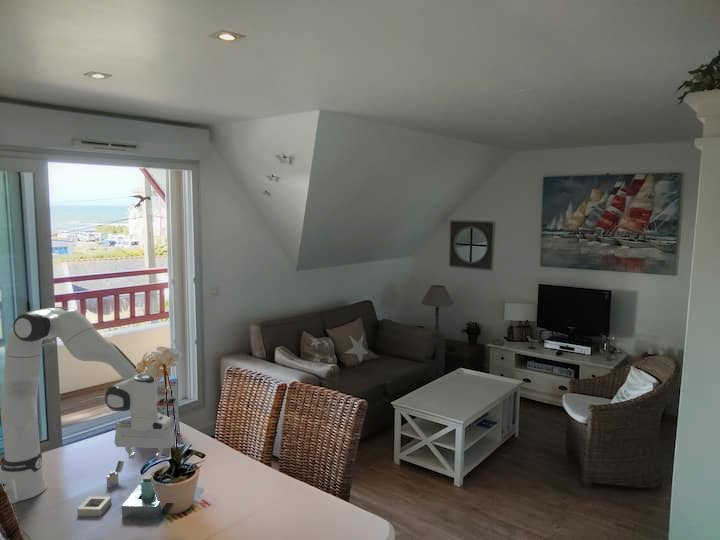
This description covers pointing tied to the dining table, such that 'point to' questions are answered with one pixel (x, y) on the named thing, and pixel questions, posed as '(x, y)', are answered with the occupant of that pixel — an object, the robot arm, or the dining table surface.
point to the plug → (147, 488)
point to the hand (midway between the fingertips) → (145, 458)
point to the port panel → (141, 506)
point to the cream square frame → (94, 511)
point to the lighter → (114, 475)
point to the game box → (161, 400)
